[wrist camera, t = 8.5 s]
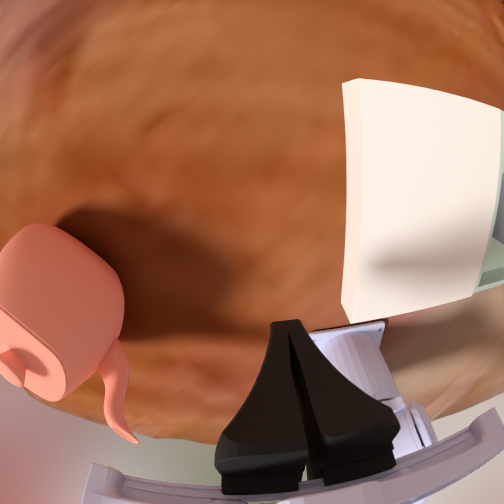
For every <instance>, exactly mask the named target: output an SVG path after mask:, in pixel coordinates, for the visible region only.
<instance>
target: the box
mask: <svg viewBox="0 0 504 504" xmlns="http://www.w3.org/2000/svg"><path fill="white" fill-rule="evenodd" d="M502 173H504V111H501V152H500V167H499V178H498V187H497V195H496V202H495V208H494V214H493V219H492V225H491V229H490V234H489V239H488V243H487V247H486V251H485V255H484V258H483V262H482V266H481V269H480V272H479V276H478V279H477V282H476V285H475V288H474V291H473V293H475V292H478V291H481V290H485V289H488V288H491V287H495V286H498V285H501V284H504V245H503V244H502V243H500V242H499V241H498V240H496V239H495V238H493V237H492V235H493V230H494V226H495V221H496V215H497V210H498V204H499V197H500V190H501V181H502Z"/></svg>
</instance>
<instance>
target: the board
mask: <svg viewBox="0 0 504 504" xmlns="http://www.w3.org/2000/svg"><path fill="white" fill-rule="evenodd" d="M342 90H343V101H344V115H345V133H346V162H347V208H346V238H345V256H344V271H343V283H342V294H341V304H342V306H343V308H344V310H345V312H346V315H347V317H348V319H349V321H350V323H351V324H352V323H358V322H363V321H369V320H374V319H379V318H384V317H389V316H394V315H399V314H403V313H408V312H412V311H417V310H421V309H425V308H429V307H433V306H437V305H441V304H445V303H449V302H453V301H456V300H460V299H463V298H467V297H470V296H472V294H473V291H474V288H475V285H476V282H477V279H478V276H479V272H480V269H481V266H482V262H483V258H484V255H485V251H486V247H487V243H488V239H489V234H490V229H491V225H492V219H493V214H494V208H495V202H496V195H497V187H498V178H499V167H500V152H501V109H498V108H495V107H492V106H490V105H487V104H484V103H481V102H477V101H474V100H471V99H468V98H464V97H461V96H457V95H453V94H449V93H445V92H441V91H437V90H432V89H428V88H423V87H418V86H412V85H406V84H400V83H394V82H386V81H378V80H369V79H359V78H358V79H355V80H351V81H348V82H345V83H342Z"/></svg>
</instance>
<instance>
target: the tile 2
mask: <svg viewBox="0 0 504 504" xmlns="http://www.w3.org/2000/svg"><path fill="white" fill-rule="evenodd" d="M492 237H493V238H495V239H496V240H498V241H499V242H500V243H502V244H503V245H504V173H502V181H501V190H500V197H499V204H498V210H497V215H496V221H495V226H494V230H493V235H492Z"/></svg>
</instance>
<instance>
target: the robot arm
mask: <svg viewBox="0 0 504 504" xmlns="http://www.w3.org/2000/svg"><path fill="white" fill-rule="evenodd" d="M270 327H271V330H270V339H269V344H268V348H267V352H266V355H265V359H264V361H263V364H262V367H261V370H260V372H259V375H258V377H257V379H256V382H255V384H254V386H253V388H252V390H251V391H250V393H249V395H248V397H247V399H246V400H245V402H244V404H243V405H242V407H241V408H240V410H239V411H238V413H237V414H236V415H235V417H234V418H233V419H232V421H231V422H230V423H229V424H228V426H227V427H226V428H225V429H224V430H223V432H222V434H221V436H220V438H219V441H218V444H217V447H216V451H215V463H214V465H215V468H216V469H217V470H218V472H219V473H220V474H221V476H222V483H221V486H201V485H200V486H199V485H187V484H177V483H168V482H161V481H154V480H148V479H142V478H137V477H131V476H127V475H123V474H122V473H121V472H120V471H118V470H116V469H114V468H110V467H107V466H103V465H99V464H96V463H91V466H90V470H89V474H88V478H87V482H86V486H85V490H84V494H83V499H82V503H81V504H248V503H247V502H256V501H257V502H258V501H273V500H281V501H279V502H271V503H262V504H423V503H424V502H425V501H426V500H427V498H428V497H429V496H430V495H432V494H434V493H436V492H438V491H440V490H442V489H444V488H446V487H447V486H449V485H451V484H453V483H455V482H456V481H458V480H460V479H462V478H463V477H465V476H467V475H468V474H470V473H472V472H473V471H475V470H476V469H478V468H480V467H481V466H483V465H484V464H485V463H487V462H488V461H490V460H491V459H492V458H493V457H495V456H496V455H497V454H499V453H500V452H501V451H502V450H503V449H504V425H503V423H502V421H501V419H500V417H499V415H498V413H497V412H496V410H495V408H491V409H490V410H488V411H487V412H485V413H483V414H482V415H480V416H478V417H477V418H476V419H475V420H474V421H473V422H472V423H471V424H470V426H468V427H467V428H465V429H463V430H461V431H459V432H457V433H455V434H453V435H451V436H449V437H447V438H445V439H443V440H441V441H439V442H438V440H437V437H436V435H435V432H434V429H433V427H432V425H431V422H430V420H429V418H428V415H427V413H426V411H425V409H424V407H423V406H422V404H421V403H418V402H415V401H411V402H409V403H408V406H409V408H410V411H411V415H412V418H413V420H414V423H415V424H414V423H413V421H412V418H411V416H410V414H409V411H408V409H407V407H406V404H405V402H404V400H403V397H402V396H401V395H400V393H399V391H398V388H397V386H396V384H395V382H394V379H393V377H392V375H391V373H390V371H389V368H388V366H387V364H386V362H385V360H384V358H383V356H382V354H381V352H380V349H379V346H380V343H381V339H382V335H383V332H384V328H385V323H384V321H376V322H371V323H366V324H360V325H355V326H349V327H343V328H337V329H330V330H324V331H317V332H311V333H310V334H308V333H307V331H306V330H305V328H304V326H303V324H302V322H301V321H300V320H299V319H295V320H287V321H278V322H272V323H271V324H270ZM313 340H314V341H313ZM423 446H424V448H423ZM305 465H306V469H307V481H301V479H302V475H303V471H304V470H305Z"/></svg>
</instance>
